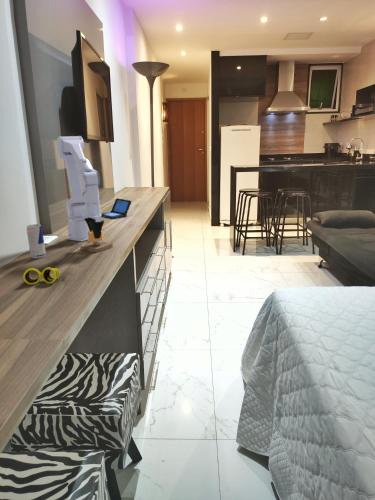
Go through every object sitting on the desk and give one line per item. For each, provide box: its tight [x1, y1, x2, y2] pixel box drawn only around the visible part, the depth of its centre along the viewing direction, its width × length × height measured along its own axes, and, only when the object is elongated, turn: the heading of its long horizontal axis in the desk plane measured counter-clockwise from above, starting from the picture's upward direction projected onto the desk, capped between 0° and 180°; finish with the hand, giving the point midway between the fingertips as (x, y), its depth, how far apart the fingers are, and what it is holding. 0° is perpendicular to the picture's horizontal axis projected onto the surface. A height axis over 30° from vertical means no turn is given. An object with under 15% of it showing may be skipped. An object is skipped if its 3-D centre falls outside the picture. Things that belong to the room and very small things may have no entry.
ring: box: [88, 230, 104, 243], centre depth 145 cm, size 6×6×4 cm
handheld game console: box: [101, 198, 132, 220], centre depth 212 cm, size 16×13×9 cm
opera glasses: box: [22, 266, 61, 286], centre depth 112 cm, size 10×5×5 cm, turn 96°
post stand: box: [79, 241, 114, 253], centre depth 146 cm, size 9×9×6 cm
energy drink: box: [26, 223, 47, 259], centre depth 136 cm, size 5×5×12 cm
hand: (95, 236), depth 145 cm, fingers closed on ring, 5 cm apart
